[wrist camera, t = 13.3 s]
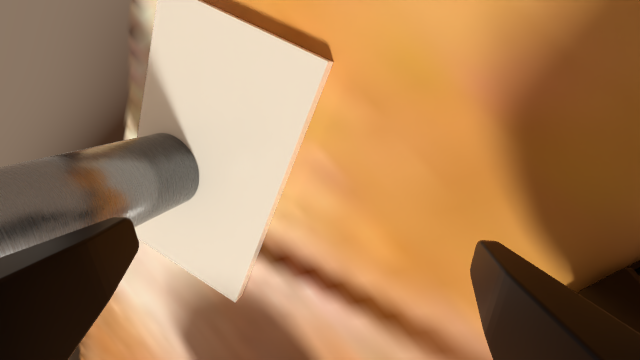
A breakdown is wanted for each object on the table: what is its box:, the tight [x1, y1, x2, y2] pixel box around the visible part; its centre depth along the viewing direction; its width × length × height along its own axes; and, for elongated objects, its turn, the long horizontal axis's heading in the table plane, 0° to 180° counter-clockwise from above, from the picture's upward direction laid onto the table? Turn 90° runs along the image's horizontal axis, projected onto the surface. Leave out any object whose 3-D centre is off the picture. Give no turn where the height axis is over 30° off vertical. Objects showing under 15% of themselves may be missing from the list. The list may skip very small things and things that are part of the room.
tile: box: [135, 0, 333, 303], centre depth 24 cm, size 20×12×1 cm, turn 157°
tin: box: [0, 133, 199, 257], centre depth 19 cm, size 6×6×13 cm
